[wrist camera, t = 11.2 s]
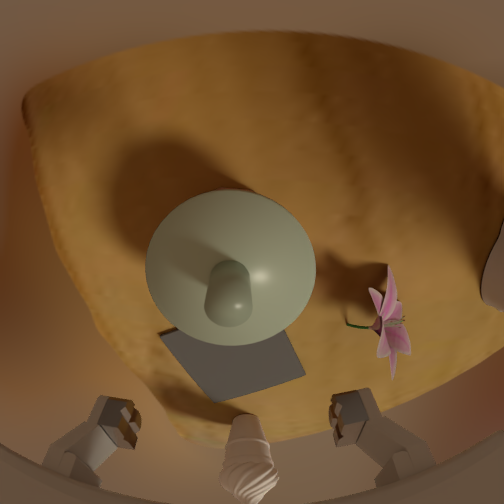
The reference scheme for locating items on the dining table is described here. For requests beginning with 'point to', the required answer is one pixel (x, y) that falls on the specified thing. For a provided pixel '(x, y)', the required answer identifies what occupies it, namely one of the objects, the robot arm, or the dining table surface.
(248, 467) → the soft serve ice cream cone
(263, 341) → the mat
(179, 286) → the lid
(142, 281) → the dining table surface
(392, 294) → the lily
